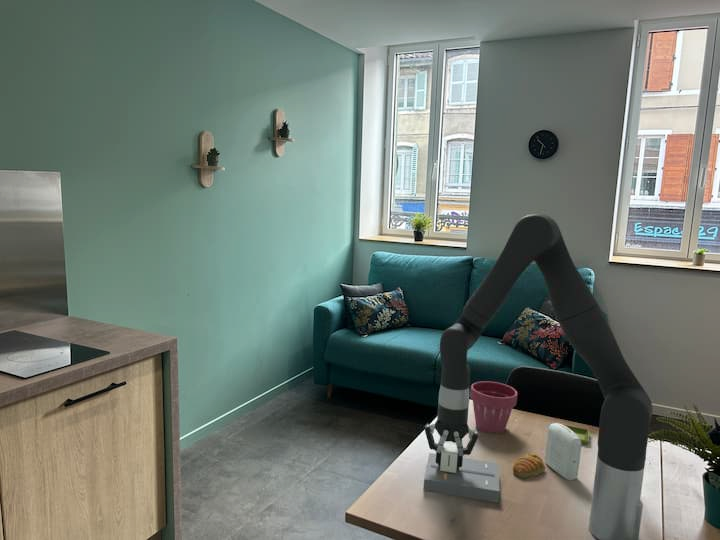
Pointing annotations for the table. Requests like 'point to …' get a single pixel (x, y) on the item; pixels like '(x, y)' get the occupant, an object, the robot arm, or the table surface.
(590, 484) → the table surface
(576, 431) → the saucer
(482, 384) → the plant pot
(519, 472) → the pastry
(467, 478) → the console
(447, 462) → the fader tab
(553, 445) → the photo printer
